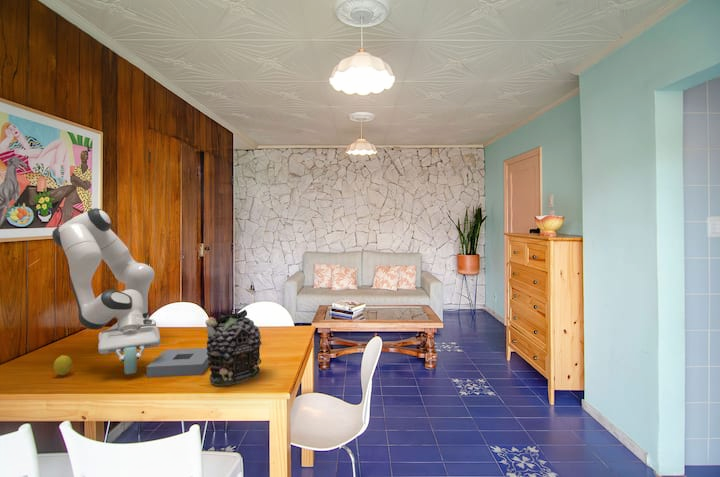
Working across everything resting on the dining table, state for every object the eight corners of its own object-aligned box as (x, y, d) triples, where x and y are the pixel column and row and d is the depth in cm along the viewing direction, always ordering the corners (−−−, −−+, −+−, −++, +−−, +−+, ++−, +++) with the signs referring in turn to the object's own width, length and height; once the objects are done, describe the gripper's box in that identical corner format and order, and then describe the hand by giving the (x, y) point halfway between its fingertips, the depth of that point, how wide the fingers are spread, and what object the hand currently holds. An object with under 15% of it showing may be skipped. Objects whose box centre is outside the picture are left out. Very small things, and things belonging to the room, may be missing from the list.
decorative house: (218, 392, 130) (217, 319, 129) (198, 380, 140) (197, 312, 139) (270, 375, 145) (270, 309, 144) (249, 365, 155) (248, 304, 154)
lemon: (60, 373, 147) (59, 352, 147) (75, 372, 147) (75, 352, 147) (50, 379, 141) (49, 357, 141) (65, 378, 142) (65, 357, 142)
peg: (122, 374, 140) (121, 350, 140) (127, 370, 144) (126, 346, 144) (134, 373, 141) (133, 349, 140) (138, 369, 145) (138, 346, 144)
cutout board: (146, 377, 143) (146, 366, 143) (166, 359, 163) (166, 349, 162) (202, 374, 145) (202, 364, 145) (215, 356, 165) (215, 347, 165)
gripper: (97, 326, 143) (95, 360, 135) (159, 319, 153) (160, 350, 144) (99, 335, 147) (97, 368, 139) (159, 328, 157) (160, 358, 148)
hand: (130, 359), depth 142 cm, fingers closed on peg, 4 cm apart
